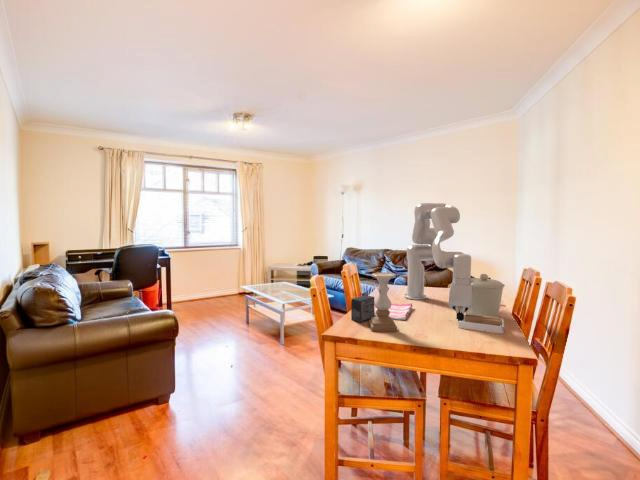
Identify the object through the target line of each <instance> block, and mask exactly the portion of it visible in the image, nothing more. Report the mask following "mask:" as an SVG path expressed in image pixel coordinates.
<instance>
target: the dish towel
mask: <svg viewBox="0 0 640 480" xmlns="http://www.w3.org/2000/svg"><path fill="white" fill-rule="evenodd" d="M376 310H377V308H376V307H375V308H374V315H375V316H377V314H376ZM388 310H389V311H390V314H389V315H388V316H389V317H391V318H392V319H393V320H394V321H406V319H407V318H408V316H409V314H410V313H411V312H412V311H413V303H412V302H411V303H401V304H398V303H392V302H391V307H390V308H389V309H388Z"/></svg>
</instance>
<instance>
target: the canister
mask: <svg viewBox="0 0 640 480" xmlns="http://www.w3.org/2000/svg"><path fill="white" fill-rule="evenodd" d="M488 278H489V275H488V274H486V273H481V274H480V275H479V277H475V278H471V279H472V280H474V283H470V284H471V285H472V287H473V310H467V313H472V314H480V315H485V316H494V317H499V312H500V308H501V302H502V295H503V291H504V288H505V286H506V285H505V283H503V282H502V281H499V280H496V279H492V278H491V279H488Z"/></svg>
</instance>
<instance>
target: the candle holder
mask: <svg viewBox="0 0 640 480" xmlns="http://www.w3.org/2000/svg"><path fill="white" fill-rule="evenodd" d="M371 277H372V278H376V280H377V281H378V287H377V290H378V296H377V298H375V300H374V308H375V309H376V308H377V310H376V314H377V316H375V317H371V319H370V320H368V326H369V328H370V331H371V332H373V333H374V332H375V333H376V332H377V333H378V332H379V333H397V332H398V326H397V324H396V323H395V319H392V318H391V317H389V316H388V315H389V314H390V311H389V310H388V309H389V308H390V307H391V303H392V302H391V300H390V298H389V296H388V293H389V290H390V287H389V286H388V284H389V283H388V282H389V281H390V279H394V278H396V273H393V272H383V271H382V272H381V271H380V272H372V274H371Z"/></svg>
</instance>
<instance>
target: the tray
mask: <svg viewBox="0 0 640 480" xmlns="http://www.w3.org/2000/svg"><path fill="white" fill-rule="evenodd" d="M465 316H466V313H464V320H462V321H459V322H458V324H457V325H458V329H466V330H471V331H479V332H485V331H486V332H487V333H493V334H500V333H501V335H504V334H505V322H504V320H505V319H504V318H500V325H501V326H496V325H489V324H481V323H473V322H465Z"/></svg>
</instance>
